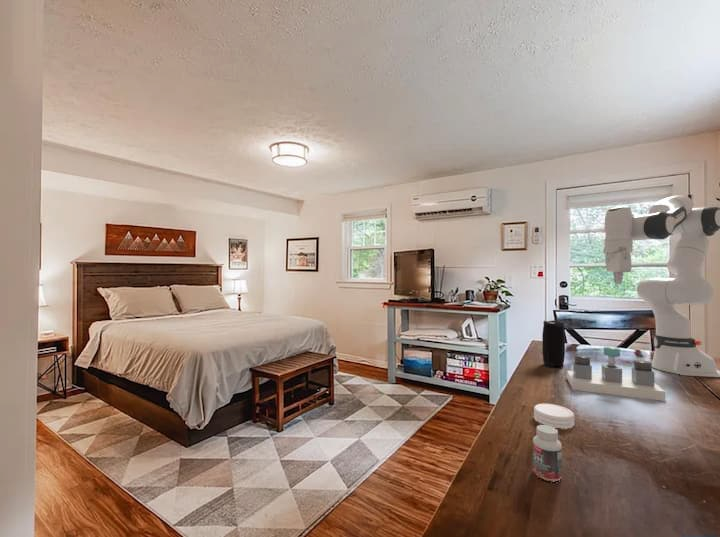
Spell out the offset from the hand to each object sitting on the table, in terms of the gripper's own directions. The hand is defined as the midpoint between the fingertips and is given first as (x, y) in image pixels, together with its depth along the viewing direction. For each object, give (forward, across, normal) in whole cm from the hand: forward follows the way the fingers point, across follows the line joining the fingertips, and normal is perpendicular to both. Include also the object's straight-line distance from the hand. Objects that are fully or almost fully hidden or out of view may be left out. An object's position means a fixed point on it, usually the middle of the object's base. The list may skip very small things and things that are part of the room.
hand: (618, 283), depth 137 cm
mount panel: (+37, -14, +5) cm, 40 cm away
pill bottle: (+37, -83, +31) cm, 96 cm away
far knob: (+33, -14, +14) cm, 38 cm away
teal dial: (+29, -14, +5) cm, 32 cm away
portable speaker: (+37, +11, +21) cm, 44 cm away
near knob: (+33, -14, -4) cm, 36 cm away
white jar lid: (+38, -53, +27) cm, 70 cm away
